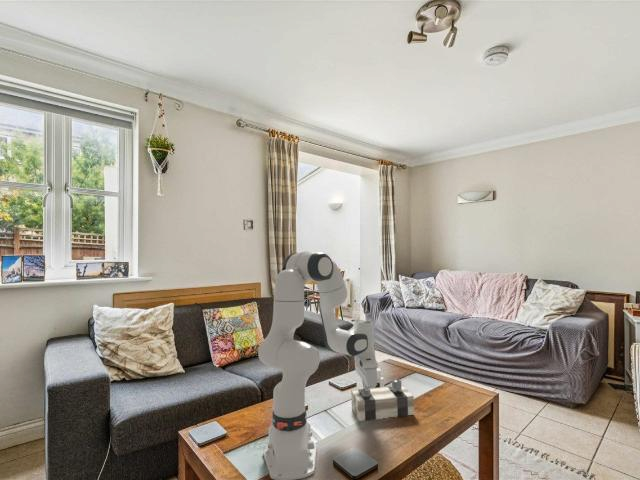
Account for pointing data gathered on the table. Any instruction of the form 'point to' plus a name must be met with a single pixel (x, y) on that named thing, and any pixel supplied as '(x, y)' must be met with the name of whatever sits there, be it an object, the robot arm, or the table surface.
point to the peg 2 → (396, 386)
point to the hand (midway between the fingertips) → (366, 390)
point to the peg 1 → (365, 393)
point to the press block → (382, 403)
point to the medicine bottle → (379, 379)
